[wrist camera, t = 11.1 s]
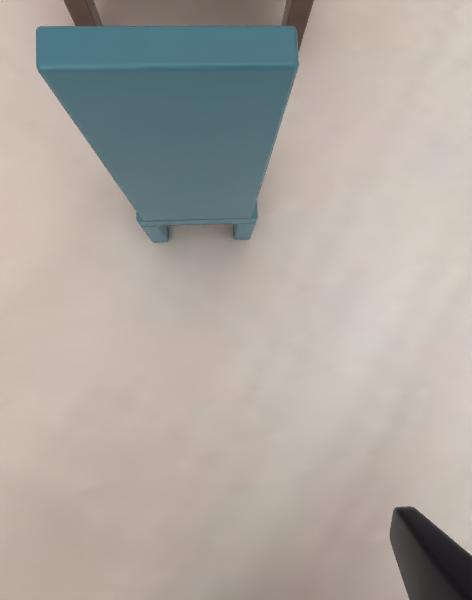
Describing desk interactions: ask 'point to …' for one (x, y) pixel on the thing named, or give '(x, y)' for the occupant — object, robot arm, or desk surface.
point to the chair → (176, 112)
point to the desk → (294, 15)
